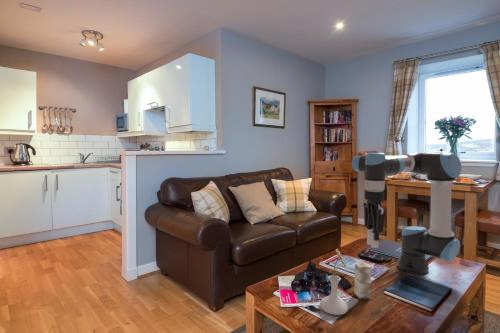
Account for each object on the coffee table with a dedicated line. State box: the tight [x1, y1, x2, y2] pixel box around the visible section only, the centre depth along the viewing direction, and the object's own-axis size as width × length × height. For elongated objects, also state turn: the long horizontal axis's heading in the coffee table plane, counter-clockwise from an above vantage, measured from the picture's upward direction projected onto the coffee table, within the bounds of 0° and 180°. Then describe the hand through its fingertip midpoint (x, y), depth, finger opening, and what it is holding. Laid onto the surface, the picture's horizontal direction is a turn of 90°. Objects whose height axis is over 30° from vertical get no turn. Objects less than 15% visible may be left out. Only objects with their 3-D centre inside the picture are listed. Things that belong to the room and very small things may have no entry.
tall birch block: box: [353, 261, 372, 301], centre depth 129 cm, size 5×5×15 cm
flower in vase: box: [319, 248, 349, 316], centre depth 120 cm, size 13×11×25 cm
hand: (372, 245), depth 120 cm, fingers open, 3 cm apart
